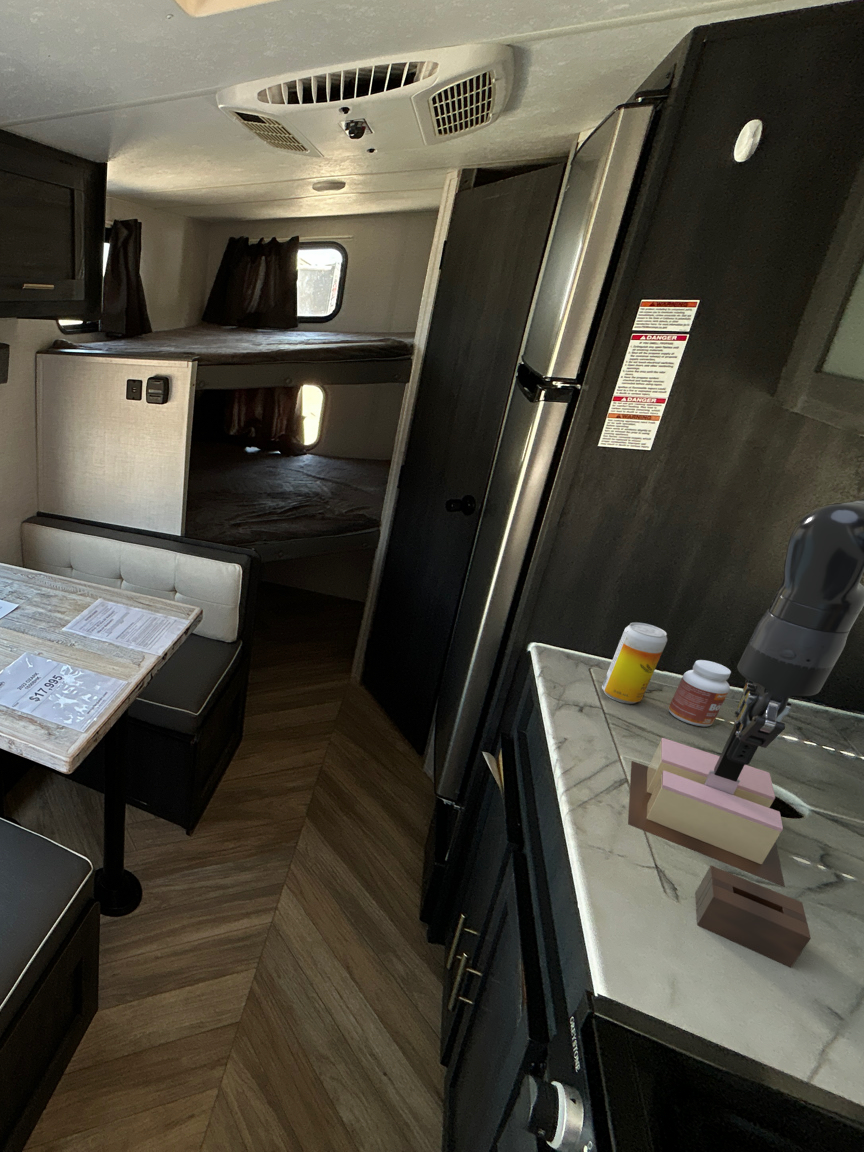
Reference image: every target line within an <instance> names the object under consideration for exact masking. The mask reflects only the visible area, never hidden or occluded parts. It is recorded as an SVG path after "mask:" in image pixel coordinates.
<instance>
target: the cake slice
mask: <svg viewBox="0 0 864 1152" xmlns="http://www.w3.org/2000/svg"><path fill="white" fill-rule="evenodd" d="M647 819H648V820H651V821H653V822H656V823H658V824H661V825H663V826H666V827H668V828H671V829H673V830H676V831H678V832H681V833H683V834H686V835H688V836H691V837H693V838H696V839H698V840H701V841H703V842H706V843H709V844H711V845H714V846H716V847H719V848H721V849H724V850H726V851H729V852H731V853H734V854H736V855H739V856H741V857H744V858H746V859H749V860H751V861H754V862H756V863H759V864H762V863H763V862H764V860H765V858H766V857H767V855H768V853H769V852H770V850H771V848H772V847H773V845H774V843H775V842H776V843H777V840H778V838H779V837H780V835H781V833H782V832H783V830H784V827H783V826H784V825H783V822H782V816H781V812H780V811H779V810H776V809H773V808H771V807H770V808H768V807H765V806H762V805H759V804H757V803H754V802H751V801H748V800H745V799H743V798H740V797H737V796H734V795H731V794H729V793H726V792H723V791H720V790H717V789H715V788H712V787H709V786H706V785H703V784H701V783H698V782H695V781H692V780H689V779H686V778H684V777H681V776H678V775H675V774H672V773H670V772H667V771H664V770H663V772H662V774H661V776H660V779H659V781H658V783H657V785H656V787H655V789H654V791H653V793H652V795H651V798H650V800H649V802H648V805H647Z"/></svg>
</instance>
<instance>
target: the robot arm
mask: <svg viewBox="0 0 864 1152" xmlns="http://www.w3.org/2000/svg"><path fill="white" fill-rule="evenodd" d="M783 564H784V565H783V578H782V581H781V583H780V585H779V586H778V588H777V591H776V592H775V594H774V596H773V598H772V599H771V602H770V604H769V606H768V609H767V610H766V612H765V613H764V614H763V616H762V617H761V618H760V620H759V621H758V623H757V625H756V626H755V628H754V630H753V633H752V635H751V637H750V638H749V640H748V643H747V645H746V647H745V648H744V651H743V653H742V655H741V657H740V659H739V661H738V663H737V665H736V668H737V671H738V673H739V674H740V675H741V676H743V677H744V678H745V681H744V683H745V684H744V687H743V689H742V693H741V696H740V699H739V702H738V704H737V705H736V706H737V708H736V710H735V712H734V717H735V718H736V719H735V720H734V722H733V726H734V725H735V723H736V724H739V725H740V727H739V729H738V731H736V733H735V734H736V737H735V739H734V740H733V742H732V744H731V746H730V748H729V750H728V752H727V758H728V759H729V760H731V761H734V762H737V763H740V764H744V765H747V766H748V765H749V764H750V763H751V761H752V759H753V757H754V755H755V754H756V752H757V750H758V748H759V747H760V748H764V749H765V748H767V747H768V746H769V745H770V744H771V743H772V742H773V741H774V740H776V739H777V737H778V736H779V735H780V734H781V733H782V732H783V731H785V729H786V723H785V722H782V720H783V719H784V717H786V716H788V715H789V713H790V711H791V709H792V707H793V702H790V701H789V700H790V698H791V697H794V696H801V697H810V696H816V695H817V694H819V693H820V692H821V690H822V688H823V687H824V685H825V683H826V681H827V679H828V678H829V676H830V674H831V672H832V670H833V668H834V667H835V665H836V663H837V661H838V660H839V657H840V656H841V654H842V652H843V651H844V648H845V646H846V643H847V639H848V636H849V634H850V631H851V629H852V627H853V626H854V624H855V622H856V620H857V619H858V617H859V615H860V613H861V611H862V609H863V607H864V585H863V584H862V583H861V580H862V577H863V574H864V498H862V499H857V500H851V501H845V502H837V503H831V504H825V505H821V506H818V507H816V508H814V509H812V510H811V511H809V512H808V513H806V514H805V515H804V516H803V517H802V518H801V519H800V520H799V521H798V523H797V524H796V526H795V527H794V528H793V530H792V532H791V534H790V537H789V540H788V543H787V548H786V555H785V559H784V563H783Z"/></svg>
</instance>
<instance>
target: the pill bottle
mask: <svg viewBox="0 0 864 1152" xmlns="http://www.w3.org/2000/svg"><path fill="white" fill-rule="evenodd" d="M731 674H732V671H731V670H730V669H729V667H727V666H724V665H722V664H721V663H718V662H715V661H710V660H705V659H697V660H696V661H695V662H694V664H693V665H692V669H690V670H687V671H686V672H684V673H683V674H682V677H681V679H680V681H679V683H678V685H677V687H676V690H675V692H674V694H673V697H672V698H671V701H670V703H669V706H668V712H669V713H670V714H671V716H673V717H674V718H675V719H677V720H678V721H681V722H683V723H686V724H689V725H692V726H697V727H710V726H712V725H713V724H714V722H715V720H716V718H717V716H718V715H719V712H720V710H721V708H722V706H723V704H724V702H725V700H726V698H727V696H728V694H729V693H730V690H731V686H730V683H729V682H728V680H729V678H730V676H731Z"/></svg>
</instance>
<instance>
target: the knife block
mask: <svg viewBox="0 0 864 1152" xmlns="http://www.w3.org/2000/svg"><path fill="white" fill-rule="evenodd" d="M694 898H695V900H694V901H695V911H696V912H695V913H696V914H695V915H696V916H695V917H696V926H698V927H699V928H701V929H704V930H707V931H708V932H711V933H713V934H715V935H716V936H720V937H721V938H723V939H726V940H728V941H730V942H733V943H734V944H737V945H739V946H741V947H743V948H746V949H748V950H750V951H752V952H755V953H757V954H759V955H762V956H763V957H766V958H767V959H770V960H773V961H774V962H777V963H779V964H781V965H783V966H785V967H787V968H790V969H791V968H792V967H793V965H794V964H795V963H796V961H797V959H798V958H799V957H800V956H801V953H802V952H803V951H804V949H805V948H806V946H807V945H808V943H809V942H810V941H811V939H812V936H811V932H810V928H809V924H808V920H807V916H806V912H805V907H804V903H803V902H802V901H800V900H797V899H795V898H792V897H790V896H788V895H785V894H782V893H780V892H778V891H776V890H772V889H771V888H768V887H765V886H763V885H760V884H758V883H756V882H754V881H751V880H748V879H746V878H743V877H741V876H738V875H736V874H733V873H731V872H728V871H726V870H724V869H722V868H720V867H719V868H718V867H716V866H714V865H709V867H708V869H707V871H706V873H705V874H704V876H703V878H702V880H701V882H700V883H699V885H698V887H697V889H696V891H695V893H694Z"/></svg>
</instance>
